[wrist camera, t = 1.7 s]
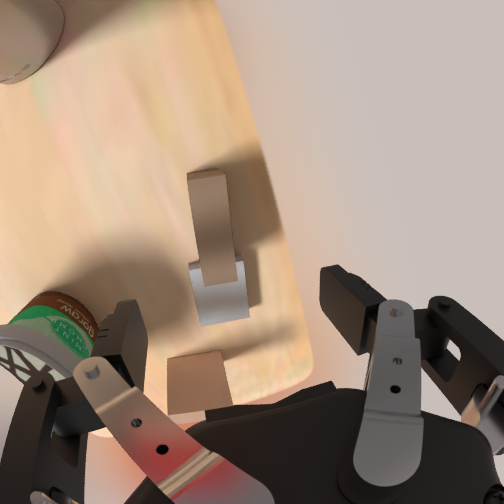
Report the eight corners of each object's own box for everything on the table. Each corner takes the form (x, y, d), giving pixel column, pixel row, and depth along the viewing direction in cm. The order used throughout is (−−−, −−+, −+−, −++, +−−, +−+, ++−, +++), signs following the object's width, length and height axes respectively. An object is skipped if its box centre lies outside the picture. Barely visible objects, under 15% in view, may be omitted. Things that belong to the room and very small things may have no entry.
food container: (132, 325, 27) (119, 399, 18) (107, 360, 28) (92, 430, 19) (35, 256, 22) (-17, 309, 13) (18, 298, 23) (-25, 355, 14)
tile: (167, 358, 29) (167, 415, 22) (220, 350, 30) (233, 405, 23) (171, 370, 30) (173, 425, 23) (223, 361, 31) (235, 416, 24)
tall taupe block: (173, 175, 23) (170, 183, 18) (230, 167, 24) (241, 172, 19) (199, 317, 28) (204, 349, 24) (246, 309, 29) (258, 338, 25)
